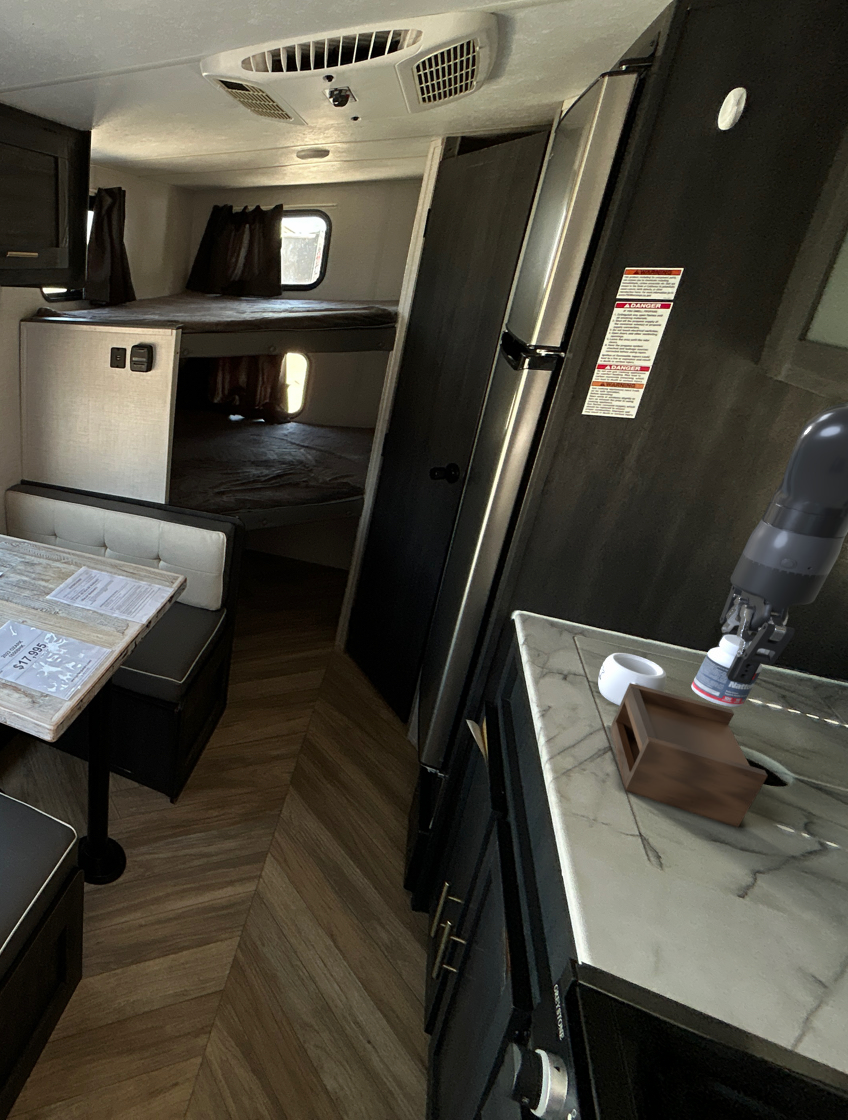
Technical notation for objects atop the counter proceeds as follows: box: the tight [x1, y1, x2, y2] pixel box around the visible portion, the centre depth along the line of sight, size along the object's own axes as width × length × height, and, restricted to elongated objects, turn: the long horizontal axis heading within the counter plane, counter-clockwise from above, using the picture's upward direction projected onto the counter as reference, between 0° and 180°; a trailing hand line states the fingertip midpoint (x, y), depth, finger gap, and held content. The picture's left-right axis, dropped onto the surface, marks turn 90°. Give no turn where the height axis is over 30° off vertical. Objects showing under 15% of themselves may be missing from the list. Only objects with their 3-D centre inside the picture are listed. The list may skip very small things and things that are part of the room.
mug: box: [597, 652, 668, 706], centre depth 110 cm, size 12×8×8 cm
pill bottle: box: [691, 635, 763, 708], centre depth 86 cm, size 5×5×9 cm
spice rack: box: [609, 683, 768, 829], centre depth 95 cm, size 12×16×10 cm
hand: (730, 669), depth 86 cm, fingers closed on pill bottle, 5 cm apart
